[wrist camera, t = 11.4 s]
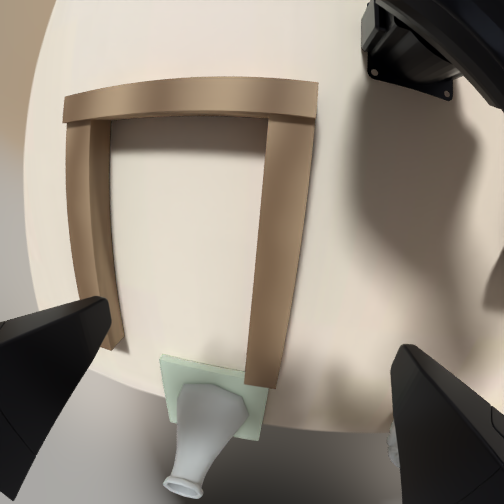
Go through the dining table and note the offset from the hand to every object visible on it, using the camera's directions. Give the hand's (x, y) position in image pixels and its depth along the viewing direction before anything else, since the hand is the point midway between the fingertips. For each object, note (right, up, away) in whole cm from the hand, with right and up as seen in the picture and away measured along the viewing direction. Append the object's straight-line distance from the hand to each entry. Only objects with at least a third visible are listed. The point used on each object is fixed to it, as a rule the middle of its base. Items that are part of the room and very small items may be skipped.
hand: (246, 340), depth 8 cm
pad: (-4, -12, +18) cm, 22 cm away
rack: (-5, +4, +13) cm, 14 cm away
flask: (-4, -12, +17) cm, 22 cm away
